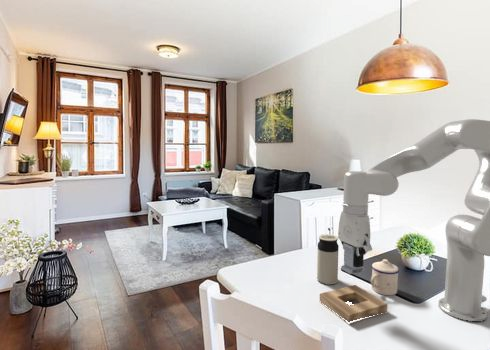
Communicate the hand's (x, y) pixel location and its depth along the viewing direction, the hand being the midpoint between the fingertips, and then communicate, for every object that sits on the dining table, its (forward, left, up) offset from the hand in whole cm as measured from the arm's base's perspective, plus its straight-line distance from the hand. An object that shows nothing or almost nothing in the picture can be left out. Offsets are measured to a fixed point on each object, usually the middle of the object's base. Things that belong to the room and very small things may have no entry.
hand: (353, 263), depth 95 cm
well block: (0, 0, -15) cm, 15 cm away
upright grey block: (0, 0, -2) cm, 2 cm away
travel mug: (-5, -19, -15) cm, 25 cm away
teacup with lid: (-18, -4, -15) cm, 24 cm away
